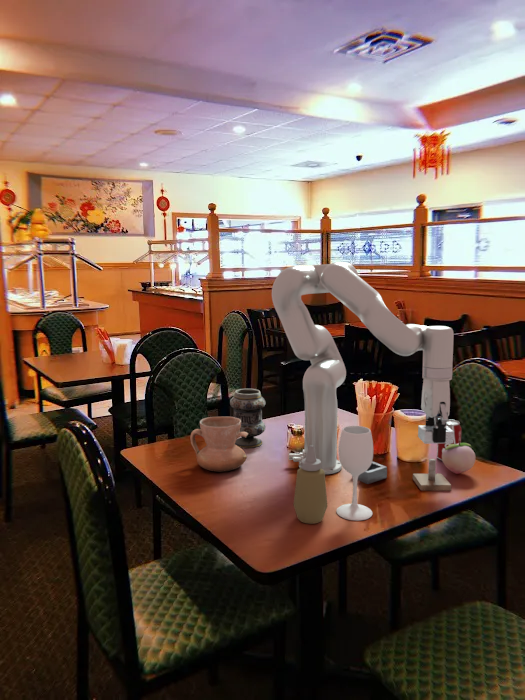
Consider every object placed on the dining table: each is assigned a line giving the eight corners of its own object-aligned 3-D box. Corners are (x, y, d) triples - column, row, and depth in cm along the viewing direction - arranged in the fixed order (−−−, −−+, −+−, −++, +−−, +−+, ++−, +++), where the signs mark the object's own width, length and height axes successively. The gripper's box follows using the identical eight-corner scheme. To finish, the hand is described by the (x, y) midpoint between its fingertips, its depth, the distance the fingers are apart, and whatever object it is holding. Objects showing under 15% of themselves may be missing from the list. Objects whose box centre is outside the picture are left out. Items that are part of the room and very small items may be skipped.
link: (367, 484, 152) (367, 473, 152) (352, 477, 157) (352, 466, 157) (386, 477, 157) (387, 467, 156) (371, 471, 161) (371, 460, 161)
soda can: (456, 456, 174) (458, 419, 172) (462, 463, 167) (464, 425, 165) (434, 455, 174) (436, 418, 173) (439, 463, 168) (441, 424, 166)
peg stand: (420, 490, 148) (422, 465, 147) (412, 478, 156) (413, 454, 155) (450, 490, 148) (452, 465, 147) (441, 478, 156) (442, 454, 155)
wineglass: (364, 524, 129) (367, 437, 126) (330, 515, 134) (332, 431, 130) (377, 510, 136) (380, 427, 133) (345, 502, 141) (346, 422, 138)
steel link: (424, 443, 147) (424, 432, 146) (418, 436, 153) (418, 425, 152) (453, 443, 147) (453, 431, 146) (445, 436, 153) (446, 424, 152)
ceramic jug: (256, 461, 170) (255, 416, 167) (240, 478, 156) (238, 429, 154) (202, 456, 175) (200, 412, 173) (181, 472, 161) (179, 425, 159)
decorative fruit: (459, 482, 153) (461, 448, 152) (436, 473, 160) (437, 439, 158) (481, 476, 158) (483, 442, 156) (458, 466, 165) (460, 434, 163)
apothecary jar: (272, 442, 187) (273, 390, 184) (248, 452, 178) (248, 397, 175) (246, 435, 195) (246, 385, 192) (222, 443, 186) (221, 391, 183)
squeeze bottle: (291, 511, 136) (291, 441, 133) (323, 510, 136) (325, 440, 133) (295, 527, 128) (296, 452, 125) (330, 526, 128) (331, 451, 126)
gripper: (414, 367, 155) (412, 429, 158) (433, 379, 138) (431, 449, 141) (440, 366, 155) (438, 428, 158) (463, 379, 138) (460, 448, 141)
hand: (435, 437), depth 150 cm, fingers closed on steel link, 6 cm apart
